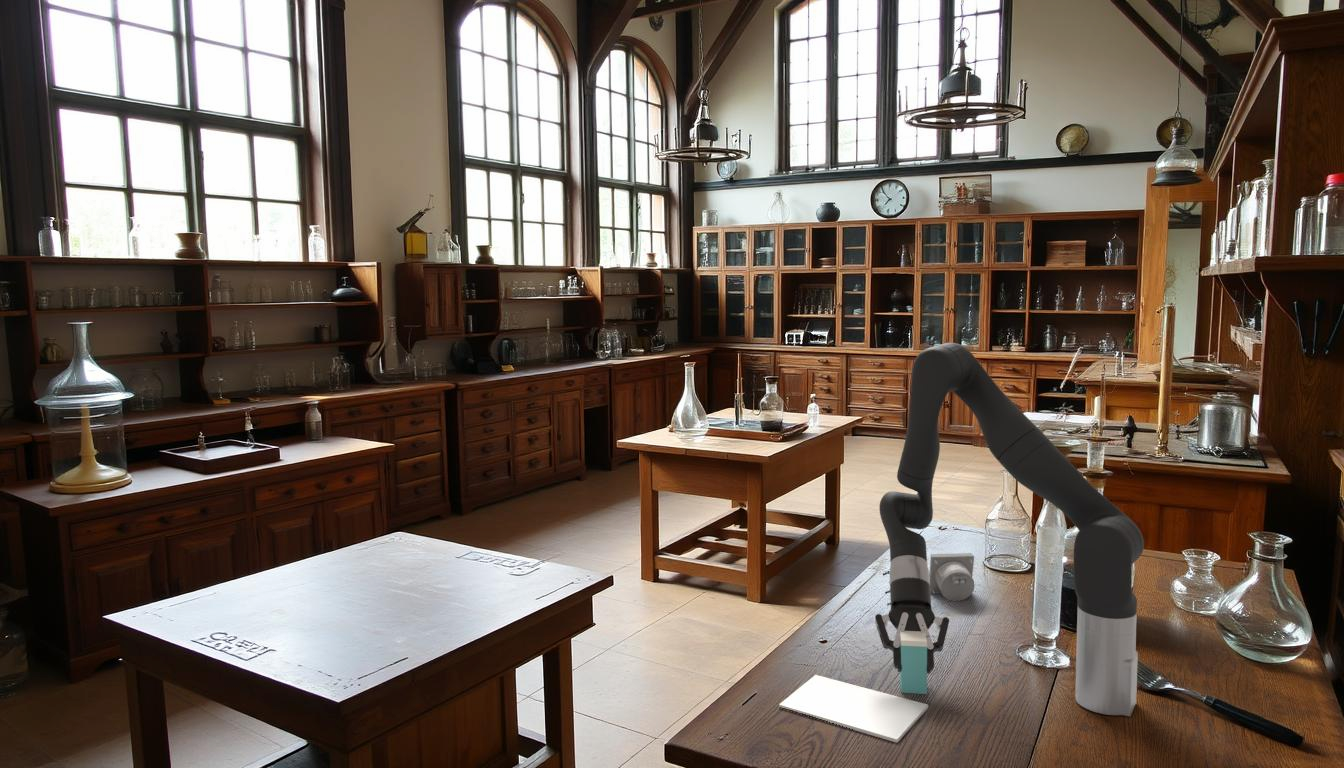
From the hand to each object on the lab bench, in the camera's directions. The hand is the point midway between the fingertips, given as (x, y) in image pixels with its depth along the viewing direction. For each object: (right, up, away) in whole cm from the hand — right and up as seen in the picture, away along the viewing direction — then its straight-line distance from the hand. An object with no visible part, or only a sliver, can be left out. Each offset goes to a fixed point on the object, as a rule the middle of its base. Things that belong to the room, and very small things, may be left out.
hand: (914, 670), depth 161 cm
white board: (-12, -5, -4) cm, 14 cm away
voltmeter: (+16, +1, +45) cm, 47 cm away
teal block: (+1, -4, +2) cm, 5 cm away
